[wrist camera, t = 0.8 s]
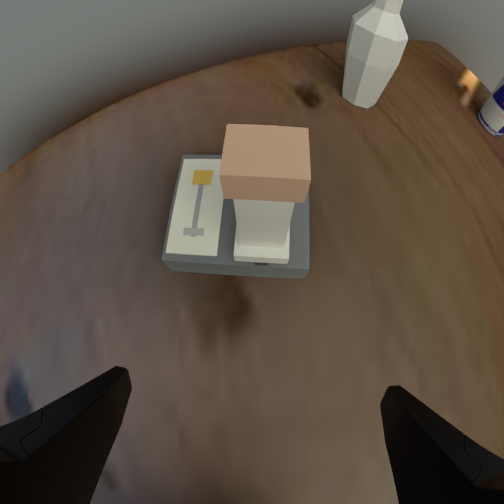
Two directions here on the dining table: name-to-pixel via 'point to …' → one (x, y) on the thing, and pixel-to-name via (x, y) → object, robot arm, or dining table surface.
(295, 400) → the dining table surface
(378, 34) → the faceted bottle
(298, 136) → the slider knob
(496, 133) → the energy drink
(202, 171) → the switch unit
